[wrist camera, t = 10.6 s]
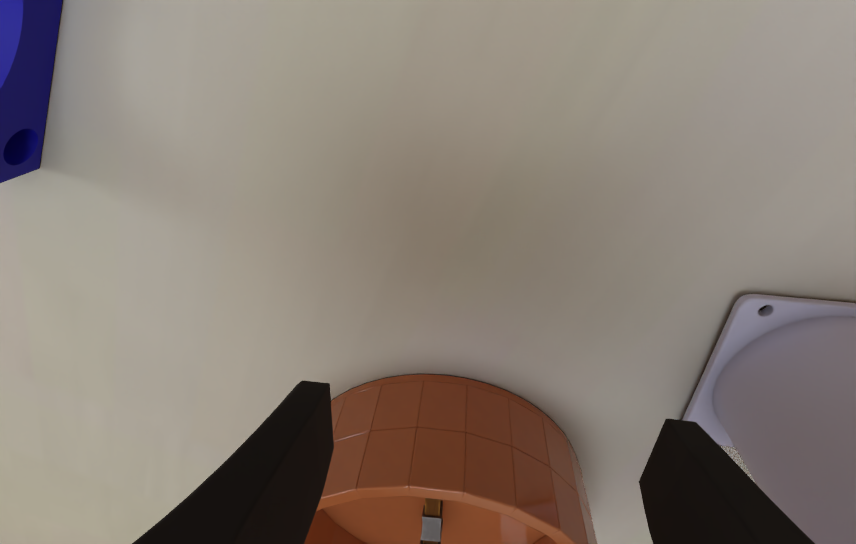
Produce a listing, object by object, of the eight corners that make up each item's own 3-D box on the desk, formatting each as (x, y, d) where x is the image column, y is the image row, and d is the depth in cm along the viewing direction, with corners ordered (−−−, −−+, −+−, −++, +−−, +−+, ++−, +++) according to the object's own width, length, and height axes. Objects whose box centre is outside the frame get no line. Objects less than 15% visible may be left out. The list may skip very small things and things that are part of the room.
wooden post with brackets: (415, 554, 27) (406, 620, 22) (422, 419, 26) (413, 459, 22) (447, 557, 27) (444, 624, 22) (455, 422, 26) (453, 463, 21)
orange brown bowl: (611, 391, 22) (654, 514, 16) (550, 573, 29) (566, 696, 24) (286, 358, 22) (228, 465, 17) (309, 543, 30) (274, 656, 25)
